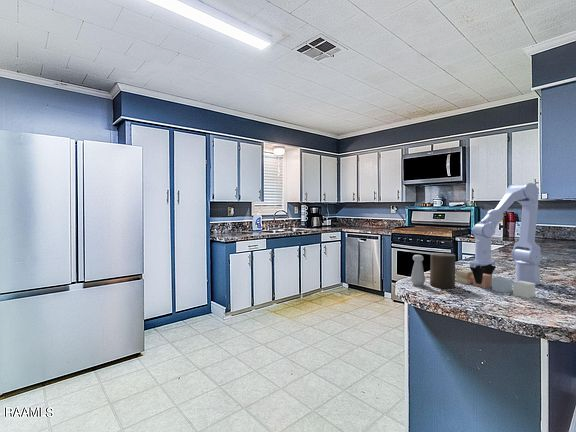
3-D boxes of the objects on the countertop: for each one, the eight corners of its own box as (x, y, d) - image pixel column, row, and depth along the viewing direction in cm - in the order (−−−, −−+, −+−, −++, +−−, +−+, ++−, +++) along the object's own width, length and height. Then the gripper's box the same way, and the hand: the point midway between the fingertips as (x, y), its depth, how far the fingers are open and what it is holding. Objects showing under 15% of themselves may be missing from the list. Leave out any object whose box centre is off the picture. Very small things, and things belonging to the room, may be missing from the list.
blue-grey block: (499, 288, 132) (499, 276, 132) (512, 291, 127) (512, 279, 127) (492, 289, 129) (492, 277, 129) (505, 292, 125) (505, 280, 125)
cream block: (520, 293, 125) (520, 280, 124) (535, 296, 120) (535, 283, 120) (513, 294, 122) (513, 282, 122) (527, 298, 118) (528, 285, 118)
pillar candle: (449, 290, 129) (450, 253, 129) (425, 285, 136) (426, 250, 136) (458, 286, 135) (459, 251, 135) (435, 282, 143) (436, 249, 142)
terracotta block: (480, 284, 139) (480, 272, 139) (491, 286, 134) (492, 274, 134) (473, 285, 137) (473, 273, 136) (484, 288, 132) (484, 276, 132)
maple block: (463, 280, 146) (463, 269, 146) (473, 282, 142) (473, 271, 141) (456, 281, 144) (456, 270, 144) (466, 284, 139) (466, 272, 139)
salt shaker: (426, 286, 134) (426, 256, 134) (412, 286, 135) (412, 256, 135) (423, 283, 140) (423, 254, 140) (409, 282, 141) (409, 253, 141)
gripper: (484, 248, 142) (483, 278, 142) (463, 251, 135) (462, 282, 136) (500, 250, 135) (500, 282, 136) (479, 253, 129) (478, 286, 129)
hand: (482, 282), depth 135 cm, fingers closed on terracotta block, 5 cm apart
